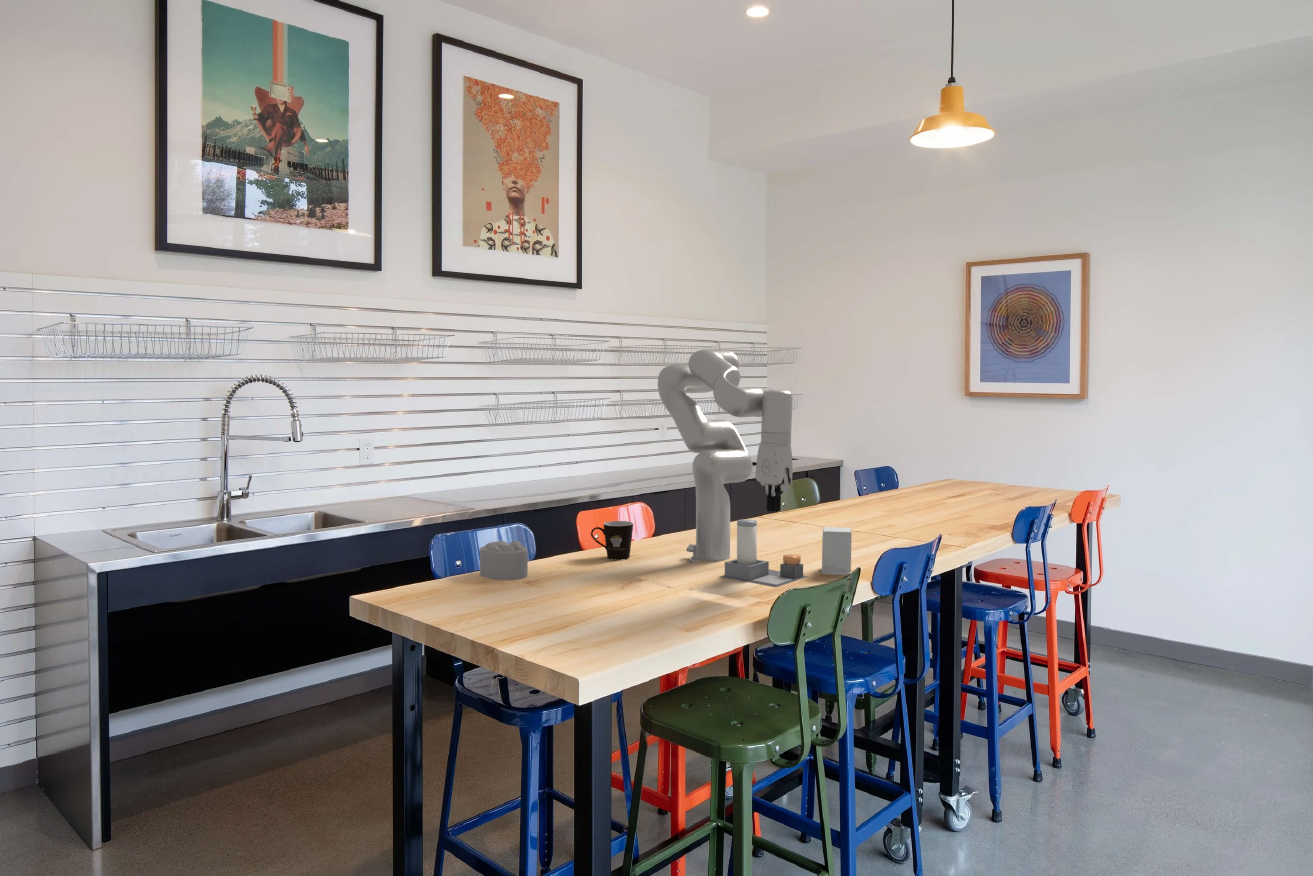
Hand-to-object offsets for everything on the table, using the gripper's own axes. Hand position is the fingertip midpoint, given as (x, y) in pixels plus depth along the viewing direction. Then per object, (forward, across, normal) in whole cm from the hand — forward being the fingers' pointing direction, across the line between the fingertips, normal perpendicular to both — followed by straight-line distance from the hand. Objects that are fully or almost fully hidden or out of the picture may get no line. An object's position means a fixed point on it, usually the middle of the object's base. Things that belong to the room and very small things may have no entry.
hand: (773, 510), depth 218 cm
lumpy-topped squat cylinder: (+20, -38, -58) cm, 72 cm away
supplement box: (+18, +5, +17) cm, 25 cm away
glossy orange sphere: (+16, +4, +4) cm, 17 cm away
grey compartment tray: (+18, +1, -3) cm, 18 cm away
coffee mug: (+20, -45, -24) cm, 54 cm away
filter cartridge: (+17, -2, -6) cm, 18 cm away
